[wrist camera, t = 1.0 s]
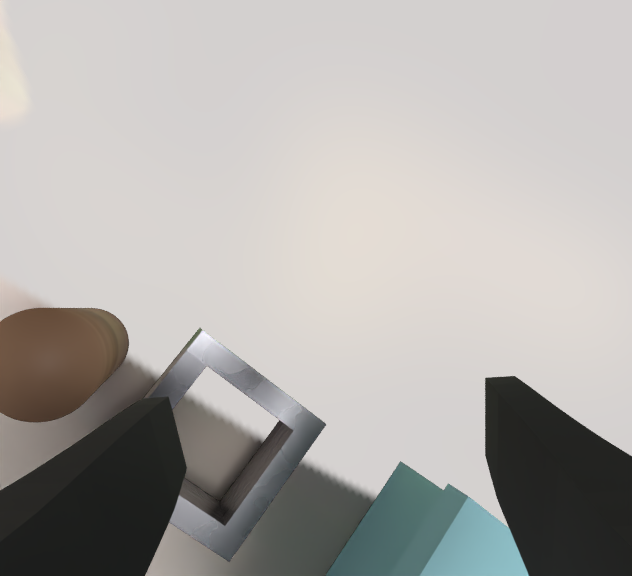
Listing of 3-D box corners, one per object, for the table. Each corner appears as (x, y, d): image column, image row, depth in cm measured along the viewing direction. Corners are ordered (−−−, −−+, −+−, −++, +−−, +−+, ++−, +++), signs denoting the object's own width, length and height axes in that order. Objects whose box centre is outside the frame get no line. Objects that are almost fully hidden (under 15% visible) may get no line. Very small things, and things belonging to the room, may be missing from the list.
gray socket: (223, 533, 22) (229, 561, 19) (100, 451, 21) (90, 470, 18) (310, 412, 23) (326, 424, 21) (199, 327, 22) (202, 330, 20)
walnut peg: (55, 385, 20) (-19, 432, 13) (47, 312, 20) (-31, 315, 13) (132, 373, 21) (107, 411, 13) (124, 304, 21) (95, 301, 13)
